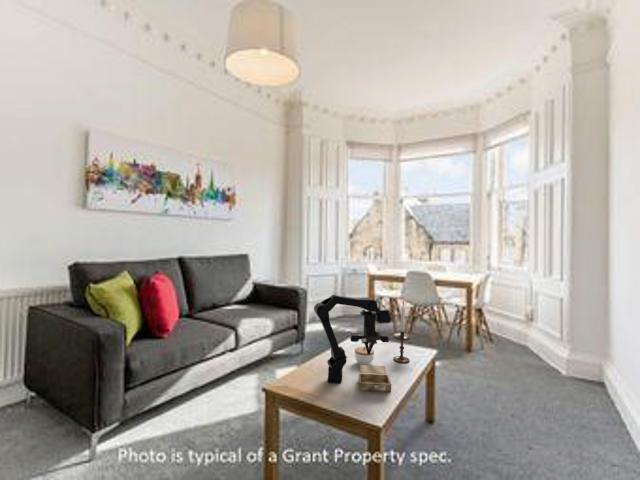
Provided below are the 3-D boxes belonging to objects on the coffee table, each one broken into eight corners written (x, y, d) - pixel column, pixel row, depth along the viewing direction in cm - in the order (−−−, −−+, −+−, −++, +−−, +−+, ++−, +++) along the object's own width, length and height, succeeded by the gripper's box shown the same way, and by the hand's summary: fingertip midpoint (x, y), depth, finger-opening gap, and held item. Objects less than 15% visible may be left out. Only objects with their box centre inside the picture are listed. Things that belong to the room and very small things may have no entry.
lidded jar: (351, 364, 192) (351, 348, 192) (358, 358, 202) (359, 342, 202) (369, 369, 188) (370, 351, 187) (376, 362, 197) (376, 346, 197)
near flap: (362, 382, 161) (362, 382, 161) (362, 382, 156) (362, 383, 156) (389, 383, 160) (389, 384, 160) (390, 384, 156) (390, 384, 156)
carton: (359, 390, 161) (359, 383, 161) (358, 380, 173) (358, 373, 172) (391, 392, 161) (391, 384, 161) (388, 381, 172) (388, 374, 172)
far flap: (360, 364, 177) (360, 365, 177) (360, 372, 173) (360, 372, 173) (384, 366, 177) (384, 366, 177) (386, 373, 172) (386, 374, 172)
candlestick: (413, 364, 196) (415, 302, 195) (393, 363, 196) (395, 301, 195) (408, 357, 207) (410, 298, 206) (390, 356, 207) (392, 297, 206)
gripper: (352, 327, 167) (351, 360, 167) (391, 328, 167) (390, 360, 167) (350, 321, 178) (349, 352, 178) (386, 322, 178) (385, 352, 179)
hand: (368, 354), depth 175 cm, fingers closed
